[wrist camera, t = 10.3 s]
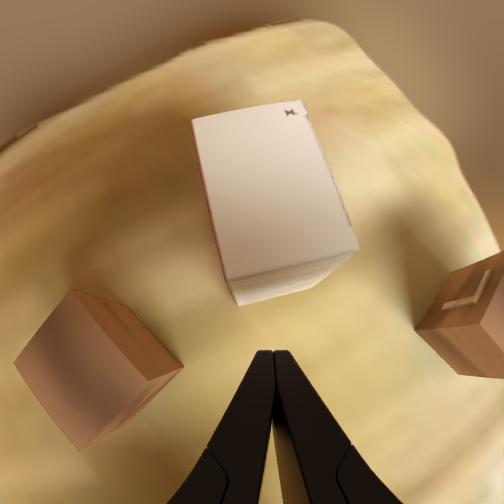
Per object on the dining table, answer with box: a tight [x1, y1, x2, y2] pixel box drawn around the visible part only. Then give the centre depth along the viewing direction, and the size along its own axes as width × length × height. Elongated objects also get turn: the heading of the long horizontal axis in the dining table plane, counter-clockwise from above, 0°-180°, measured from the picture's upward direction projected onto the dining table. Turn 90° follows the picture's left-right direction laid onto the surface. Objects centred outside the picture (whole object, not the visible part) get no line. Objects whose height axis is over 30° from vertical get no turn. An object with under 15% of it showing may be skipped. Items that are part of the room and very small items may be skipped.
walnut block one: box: [14, 289, 184, 451], centre depth 17 cm, size 6×6×8 cm
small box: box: [190, 100, 360, 306], centre depth 18 cm, size 8×6×10 cm
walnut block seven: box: [415, 251, 504, 379], centre depth 17 cm, size 6×6×8 cm
